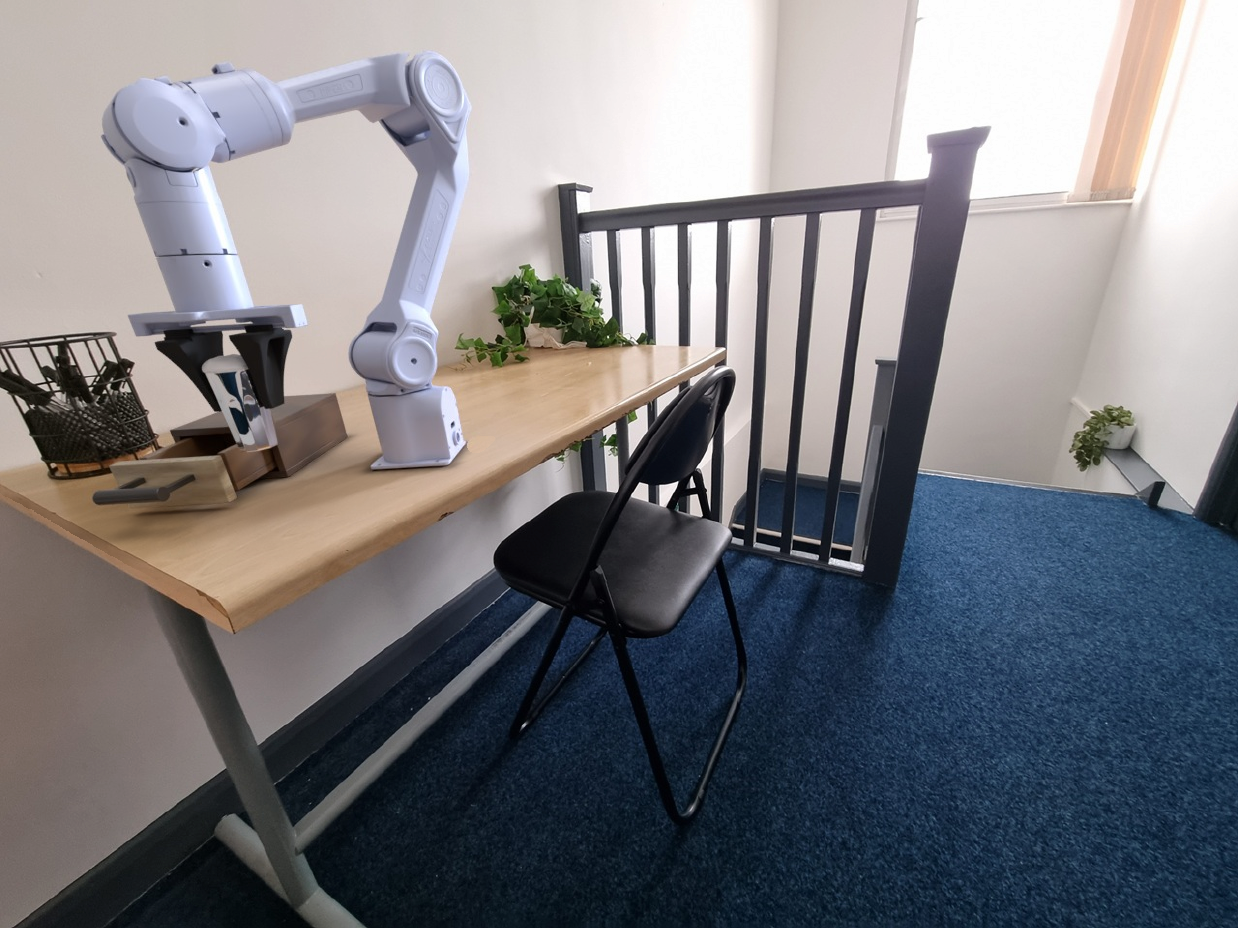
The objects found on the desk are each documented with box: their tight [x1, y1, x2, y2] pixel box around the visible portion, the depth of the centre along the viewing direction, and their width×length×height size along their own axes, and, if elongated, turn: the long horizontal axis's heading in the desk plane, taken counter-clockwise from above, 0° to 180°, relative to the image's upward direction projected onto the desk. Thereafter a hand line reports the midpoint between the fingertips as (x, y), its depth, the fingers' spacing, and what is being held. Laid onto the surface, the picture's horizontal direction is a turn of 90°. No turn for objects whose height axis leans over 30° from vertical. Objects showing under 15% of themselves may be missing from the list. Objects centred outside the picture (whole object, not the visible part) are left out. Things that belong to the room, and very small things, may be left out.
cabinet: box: [169, 392, 348, 480], centre depth 65 cm, size 15×12×7 cm
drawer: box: [91, 433, 278, 509], centre depth 54 cm, size 18×10×5 cm, turn 1°
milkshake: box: [202, 353, 278, 452], centre depth 48 cm, size 4×5×10 cm
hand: (249, 407), depth 48 cm, fingers closed on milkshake, 4 cm apart
